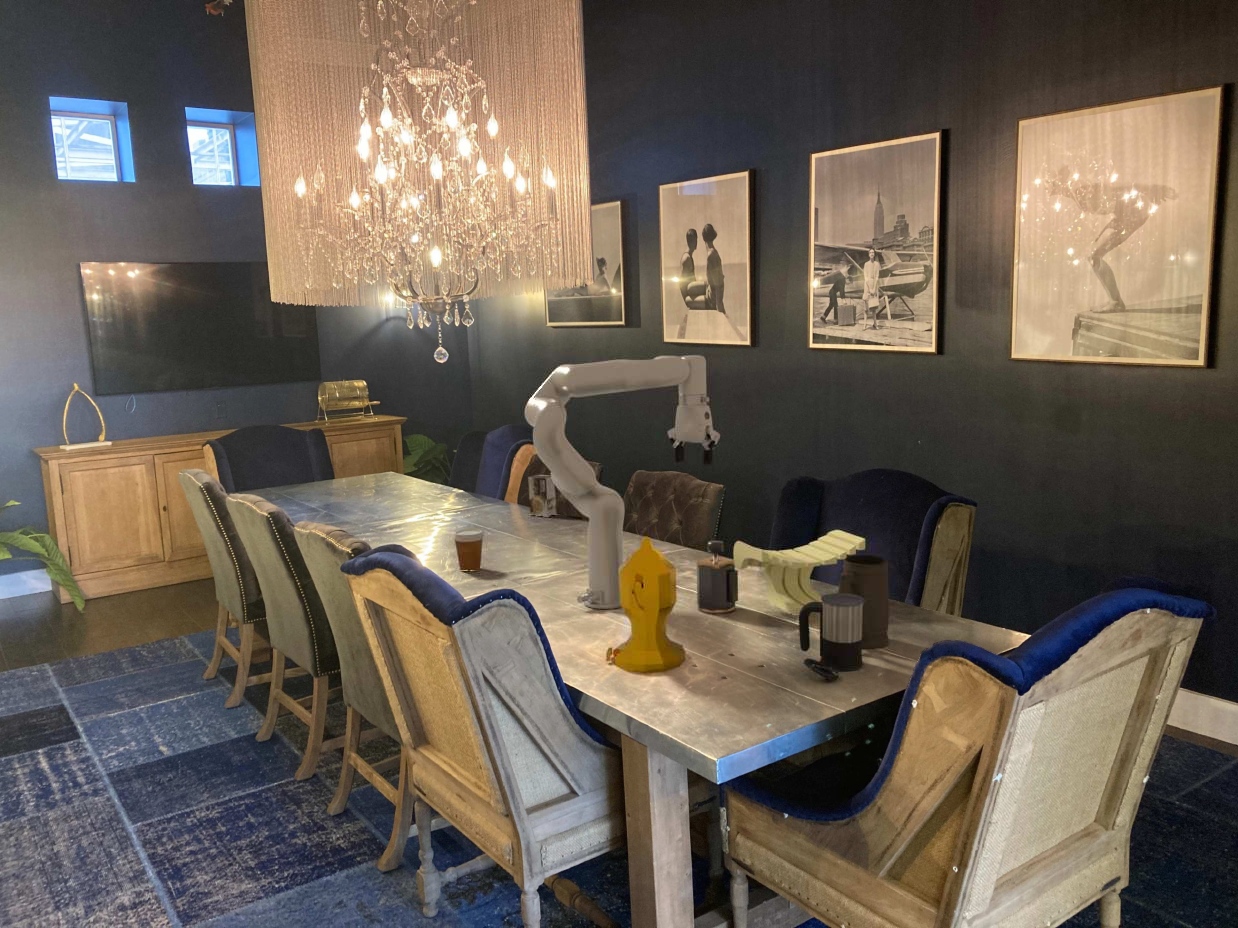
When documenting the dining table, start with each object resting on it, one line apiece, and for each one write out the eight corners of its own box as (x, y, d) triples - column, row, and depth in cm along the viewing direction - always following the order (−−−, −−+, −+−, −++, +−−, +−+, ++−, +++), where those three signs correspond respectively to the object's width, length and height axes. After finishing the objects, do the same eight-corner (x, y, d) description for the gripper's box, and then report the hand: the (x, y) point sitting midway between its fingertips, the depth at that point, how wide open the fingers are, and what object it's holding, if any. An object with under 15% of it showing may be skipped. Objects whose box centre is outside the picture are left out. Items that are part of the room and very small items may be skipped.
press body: (724, 617, 244) (724, 567, 242) (690, 609, 252) (689, 561, 250) (746, 608, 251) (745, 560, 250) (712, 601, 259) (711, 554, 257)
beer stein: (855, 630, 231) (852, 550, 227) (897, 638, 224) (896, 555, 220) (825, 651, 220) (822, 568, 216) (869, 660, 213) (867, 574, 209)
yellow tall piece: (598, 678, 204) (594, 549, 200) (616, 641, 228) (612, 525, 224) (680, 680, 202) (678, 550, 198) (689, 642, 226) (687, 525, 222)
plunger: (718, 604, 247) (718, 546, 245) (699, 600, 251) (698, 542, 249) (733, 598, 252) (732, 541, 250) (713, 594, 256) (712, 538, 254)
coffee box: (557, 514, 387) (555, 475, 384) (547, 517, 381) (546, 477, 379) (539, 513, 391) (537, 474, 389) (529, 515, 386) (527, 476, 384)
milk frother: (858, 656, 213) (858, 591, 211) (877, 682, 197) (877, 612, 195) (794, 658, 213) (793, 593, 211) (808, 684, 197) (808, 614, 195)
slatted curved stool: (831, 590, 266) (831, 527, 264) (864, 605, 251) (865, 538, 249) (734, 603, 256) (733, 538, 254) (762, 619, 241) (762, 550, 239)
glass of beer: (448, 571, 299) (446, 533, 298) (467, 564, 308) (465, 528, 306) (473, 574, 295) (471, 536, 293) (491, 567, 303) (489, 530, 302)
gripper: (726, 400, 259) (727, 463, 262) (676, 399, 271) (677, 459, 273) (710, 402, 254) (711, 466, 256) (659, 401, 265) (660, 462, 268)
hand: (693, 462), depth 265 cm, fingers open, 9 cm apart
